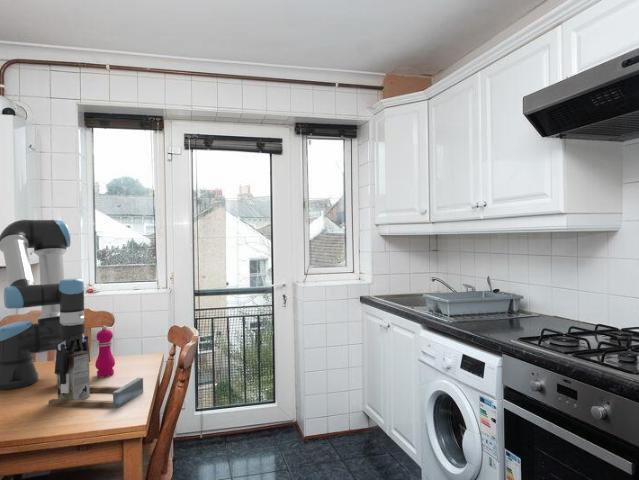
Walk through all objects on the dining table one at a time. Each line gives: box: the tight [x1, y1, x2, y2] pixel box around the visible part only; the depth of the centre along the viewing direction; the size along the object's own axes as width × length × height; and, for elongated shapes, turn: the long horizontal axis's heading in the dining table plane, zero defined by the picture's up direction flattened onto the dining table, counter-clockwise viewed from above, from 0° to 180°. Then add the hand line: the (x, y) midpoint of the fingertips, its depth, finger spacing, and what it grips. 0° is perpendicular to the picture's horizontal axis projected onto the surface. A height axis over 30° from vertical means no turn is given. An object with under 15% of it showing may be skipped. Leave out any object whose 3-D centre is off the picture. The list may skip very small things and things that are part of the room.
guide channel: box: [48, 377, 144, 409], centre depth 153 cm, size 25×15×5 cm, turn 83°
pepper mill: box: [94, 325, 116, 378], centre depth 181 cm, size 7×7×20 cm
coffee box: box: [56, 350, 91, 400], centre depth 154 cm, size 9×6×16 cm
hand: (73, 388), depth 154 cm, fingers closed on coffee box, 8 cm apart
